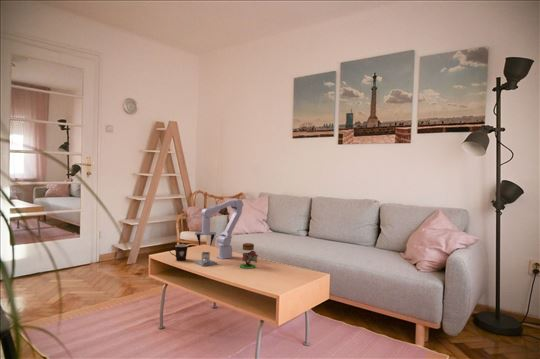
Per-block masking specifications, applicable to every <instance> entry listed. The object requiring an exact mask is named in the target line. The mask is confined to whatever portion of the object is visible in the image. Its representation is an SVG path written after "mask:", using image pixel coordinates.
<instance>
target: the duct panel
mask: <svg viewBox="0 0 540 359" xmlns="http://www.w3.org/2000/svg"><path fill="white" fill-rule="evenodd" d="M201 261H202V259H199V260H193V263H195V264H196V265H199V266H200V265H201V266H200V267H208V266H214V265H218V262H216V261H214V260H212V259H210V262H209V263H207V264H203V263H201Z"/></svg>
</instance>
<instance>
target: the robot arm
mask: <svg viewBox="0 0 540 359" xmlns="http://www.w3.org/2000/svg"><path fill="white" fill-rule="evenodd" d="M243 206H244V203H243V200H242V199H239V198H230V199H228V200H226V201H224V202H222V203H219V204H213V205H212V206H211V205H210V206H209V207H207V208H203V209H202V210H201V212H200V216H201V231H195V233H194V236H196V238H197V240H198V246H201V236H210V244H209V245H210V247H211V246H212V244H213V241H214V238H215V236H217V232H216V231H211V217H212V216H213V215H215V214H217V213H219V212H220V211H221V210H222V209H225V208H228V207H230V208H231V209H232V211H233V213H232V215H231V217H230V219H229V222H228V223H227V225H226V227H225V229H224V230H223V231H222V232H221V233H220V234H219V236H217V239H216V241H217V243H218V255H216V256H215V257H216V258H219V259H221V260H223V259H231V258H233V247H232V245H231V243H232V242H231V241H232V238H233V236H232V233H233V232H234V229H235V227H236V225H237V223H238V221H239V219H240V217H241V216H242V212H243Z"/></svg>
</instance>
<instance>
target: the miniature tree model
mask: <svg viewBox="0 0 540 359" xmlns="http://www.w3.org/2000/svg"><path fill="white" fill-rule="evenodd" d="M254 248H255V244H254V243H251V242H246V243H242V250H244V251H249V252H243V253H242V258H241V259H242V262H244V263H242V264H241V263H240V264H239V268H241V269H246V270H247V269H250V270H251V269H255V268H256V264H258V257H259V254H257V252H256V251H255V250H254ZM251 262H255V263H256V264H254V263H251Z"/></svg>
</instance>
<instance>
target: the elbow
mask: <svg viewBox="0 0 540 359" xmlns="http://www.w3.org/2000/svg"><path fill="white" fill-rule="evenodd" d="M210 254H211V252H210V251H202V252H201V260H202V261H201V263H203V264H207V263H209V262H210V260H211V258H210V256H211V255H210Z"/></svg>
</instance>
